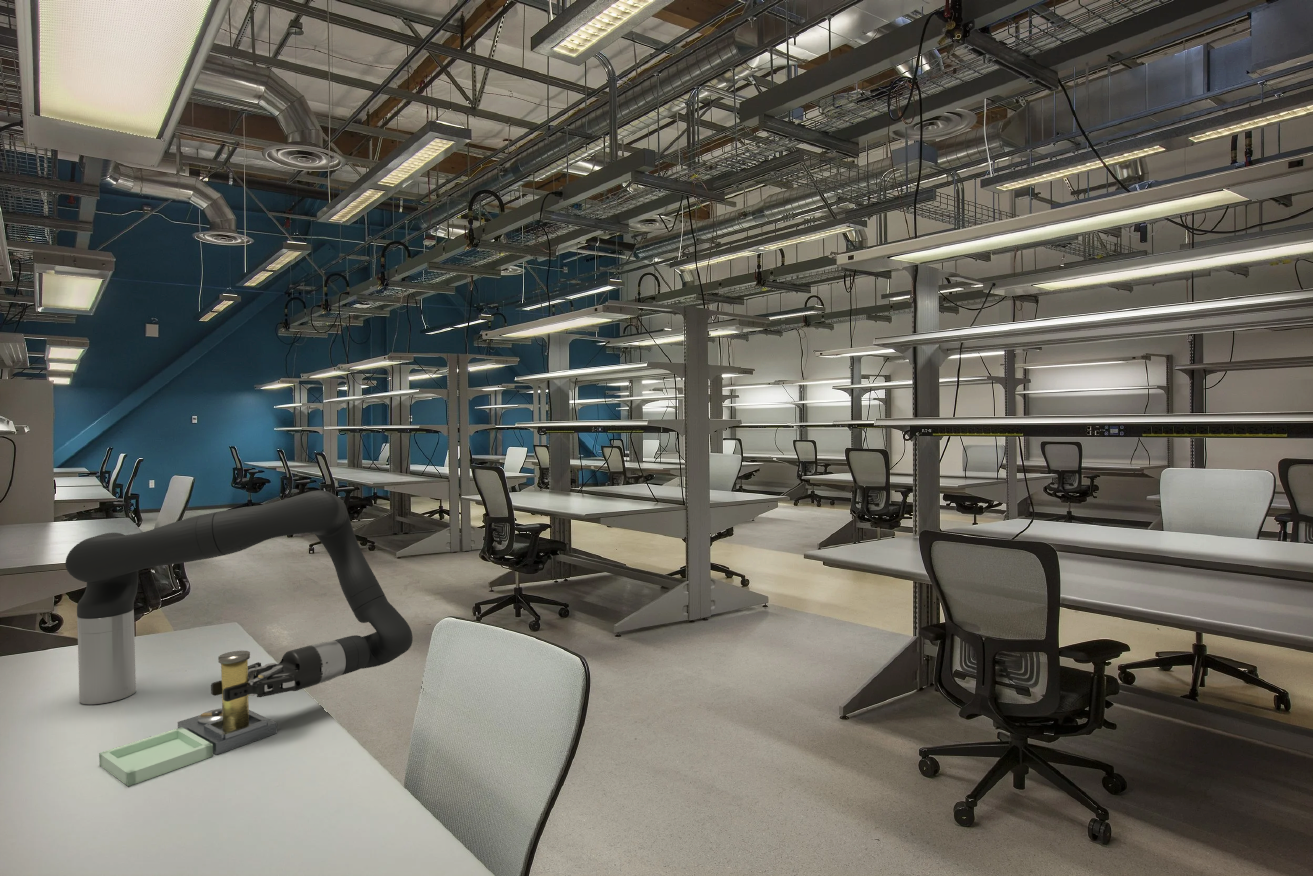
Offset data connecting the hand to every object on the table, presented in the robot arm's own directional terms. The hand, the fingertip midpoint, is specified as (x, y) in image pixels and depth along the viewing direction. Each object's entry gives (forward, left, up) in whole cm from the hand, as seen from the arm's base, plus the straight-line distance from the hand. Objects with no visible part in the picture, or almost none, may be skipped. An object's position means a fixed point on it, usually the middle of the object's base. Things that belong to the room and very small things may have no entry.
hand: (218, 692), depth 124 cm
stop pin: (0, +3, -7) cm, 8 cm away
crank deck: (-4, +3, -9) cm, 10 cm away
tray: (-2, -9, -9) cm, 13 cm away
